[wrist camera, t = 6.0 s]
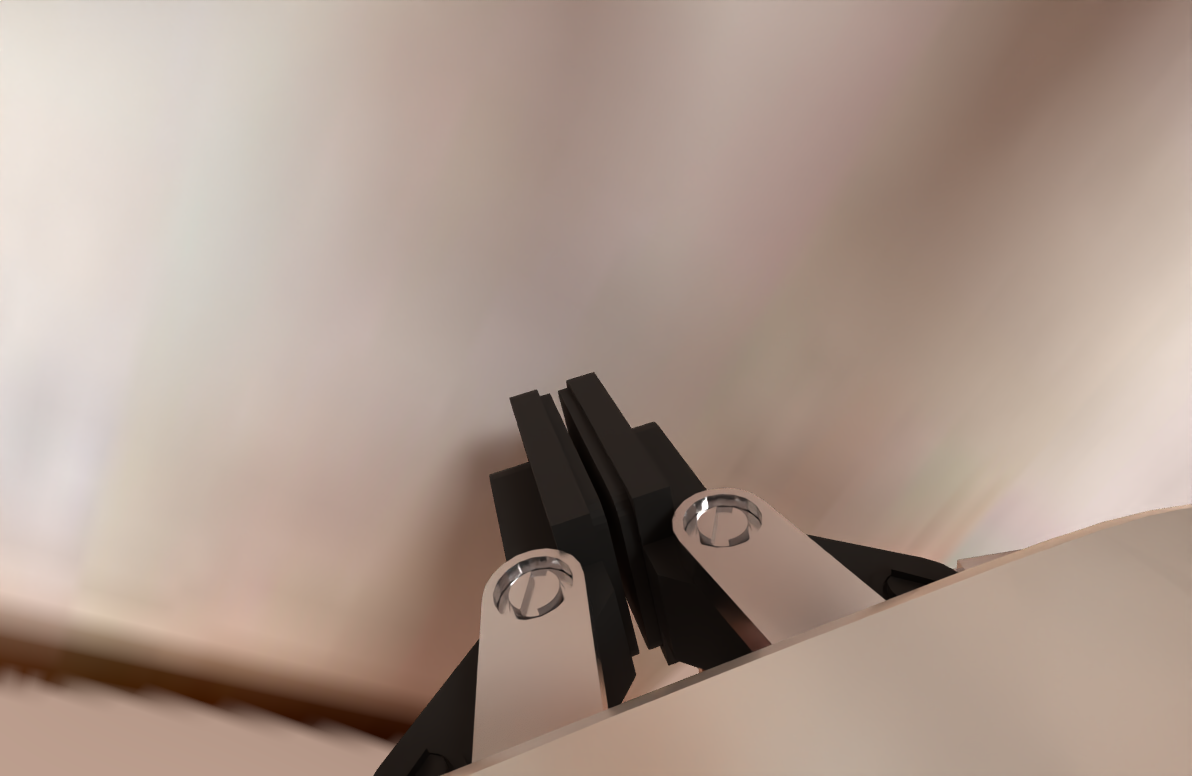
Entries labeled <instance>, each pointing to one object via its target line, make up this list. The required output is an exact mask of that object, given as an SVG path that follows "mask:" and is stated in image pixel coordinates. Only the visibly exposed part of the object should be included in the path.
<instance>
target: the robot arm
mask: <svg viewBox="0 0 1192 776" xmlns="http://www.w3.org/2000/svg"><path fill="white" fill-rule="evenodd" d="M566 383H567V388H566V389H562V390H559V391H558V394H559V399H560V402H561V406H562V410H563V414H564V418H565V421H566V425H567V429H568V431H567V429H566V427H565V425H564V423H563V420H562V418H561V416H560V414H559V412H558V410H557V408H556V405H555V403H554V401H553V399H552V397H551V395H550V393H549V394H546V395H543V396H539V393H538V391H537V390H534V391H530V392H527V393H524V394H521V395H517V396H514V397H511V398H510V402H511V405H512V408H513V412H514V415H515V418H516V421H517V425H518V428H519V431H520V435H521V438H522V441H523V444H524V448H525V451H526V454H527V457H528V461H529V462H527V463H524V464H521V465H518V466H515V467H512V468H509V469H506V470H502V471H499V472H496V473H493V474H490V475H489V477H490V483H491V488H492V492H493V497H494V502H495V507H496V512H497V517H498V522H499V527H500V532H501V537H502V542H503V547H504V551H505V556H506V561H507V562H505V563H504V564H503V565H502V566H501V567H500V568H498V569H497V570H496V571H495V572H494V573H493V574H492V576H491V577H490V579H489V581H488V582H487V584H486V585H485V588H484V592H483V596H482V606H481V622H480V638H479V640H478V641H477V642H476V644H475V645H474V646H473V647H472V649H471V650H470V651H469V653H468V654H467V655H466V656H465V658H464V659H463V660H462V661H461V663H460V664H459V665H458V667H457V668H456V669H455V670H454V672H453V673H452V674H451V676H450V677H449V678H448V679H447V681H446V682H445V683H444V685H443V686H442V687H441V688H440V690H439V691H438V692H437V693H436V695H435V696H434V697H433V699H432V700H431V701H430V702H429V704H428V705H427V706H426V708H425V709H424V710H423V711H422V713H421V714H420V715H419V716H418V718H417V719H416V720H415V722H414V723H413V724H412V725H411V727H410V728H409V729H408V731H407V732H406V733H405V734H404V736H403V737H402V738H401V739H400V741H399V742H398V743H397V745H396V746H395V747H394V748H393V750H392V751H391V752H390V754H389V755H388V756H387V757H386V759H385V760H384V761H383V763H382V764H381V765H380V767H379V768H378V769H377V771H376V772H375V774H374V776H1192V504H1189V505H1182V506H1176V507H1169V508H1162V509H1156V510H1150V511H1146V512H1142V513H1138V514H1134V515H1129V516H1125V517H1121V518H1117V519H1113V520H1109V521H1104V522H1101V523H1098V524H1095V525H1092V526H1089V527H1086V528H1084V529H1081V530H1078V531H1075V532H1072V533H1068V534H1065V535H1062V536H1059V537H1055V538H1052V539H1049V540H1047V541H1044V542H1041V543H1038V544H1036V545H1033V546H1030V547H1027V548H1025V549H1021V550H1015V551H1008V552H1002V553H996V554H990V555H984V556H978V557H971V558H965V559H959V560H957V569H951V568H949V567H947V566H945V565H944V564H941V563H938V562H935V561H931V560H928V559H925V558H921V557H916V556H911V555H906V554H901V553H896V552H891V551H886V550H881V549H876V548H871V547H866V546H861V545H856V544H851V543H846V542H841V541H836V540H831V539H826V538H821V537H816V536H811V535H806V534H804V533H803V532H802V531H801V530H800V529H798V528H797V527H796V526H795V525H793V524H792V523H791V522H790V521H789V520H787V519H786V518H785V517H784V516H783V515H781V514H780V513H779V512H778V511H776V510H775V509H774V508H773V507H772V506H770V505H769V504H768V503H767V502H765V501H764V500H763V499H761V498H760V497H758V496H756V495H755V494H753V493H751V492H748V491H744V490H741V489H736V488H715V489H708V490H706V488H705V487H704V486H703V484H702V483H701V482H700V480H699V479H698V478H697V476H696V475H695V474H694V472H693V471H692V470H691V468H690V467H689V466H688V464H687V463H686V462H685V460H684V459H683V458H682V456H681V455H680V454H679V452H678V451H677V450H676V448H675V447H674V446H673V444H672V443H671V442H670V440H669V439H668V438H667V437H666V435H665V434H664V433H663V431H662V430H661V429H660V427H659V426H658V425H657V424H656V423H655V422H651V423H648V424H645V425H642V426H639V427H635V428H631V427H630V425H629V424H628V422H627V421H626V419H625V418H624V416H623V415H622V413H621V412H620V410H619V409H618V407H617V406H616V404H615V403H614V401H613V400H612V398H611V397H610V395H609V394H608V392H607V391H606V389H605V388H604V386H603V385H602V383H601V382H600V380H599V379H598V377H597V376H596V374H595V373H594V372H593V373H589V374H586V375H583V376H579V377H576V378H573V379H570V380H567V381H566ZM626 599H627V600H626ZM627 601H628V603H629V606H630V608H631V610H632V613H633V615H634V617H635V620H636V622H637V624H638V627H639V629H640V631H641V634H642V636H643V638H644V641H645V643H646V645H647V647H648V649H649V650H650V649H653V648H656V647H658V646H660V648H661V650H662V652H663V654H664V656H665V659H666V661H667V663H668V665H672V664H674V663H677V662H683V663H686V664H689V665H692V666H694V667H697V668H698V669H699V673H698V674H696V675H694V676H691V677H688V678H686V679H683V680H680V681H678V682H675V683H673V684H670V685H668V686H665V687H663V688H660V689H658V690H655V691H652V692H650V693H647V694H645V695H642V696H640V697H637V698H635V699H632V700H630V701H627V702H624V703H622V701H623V699H624V697H625V695H626V694H627V692H628V690H629V688H630V686H631V684H632V682H633V680H634V678H635V676H636V672H635V669H634V665H633V661H632V656H635V655H637V654H639V649H638V645H637V641H636V637H635V633H634V629H633V624H632V620H631V616H630V612H629V608H628V604H627ZM621 703H622V704H621Z"/></svg>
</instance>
